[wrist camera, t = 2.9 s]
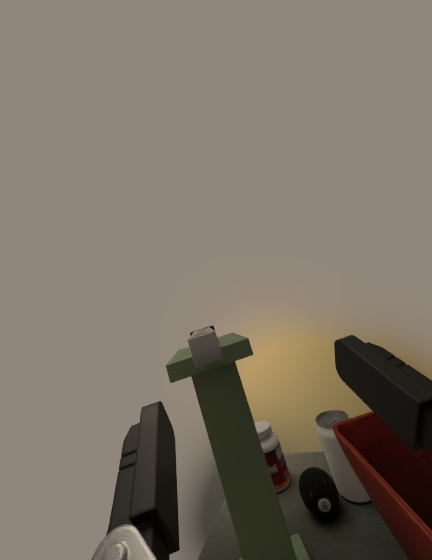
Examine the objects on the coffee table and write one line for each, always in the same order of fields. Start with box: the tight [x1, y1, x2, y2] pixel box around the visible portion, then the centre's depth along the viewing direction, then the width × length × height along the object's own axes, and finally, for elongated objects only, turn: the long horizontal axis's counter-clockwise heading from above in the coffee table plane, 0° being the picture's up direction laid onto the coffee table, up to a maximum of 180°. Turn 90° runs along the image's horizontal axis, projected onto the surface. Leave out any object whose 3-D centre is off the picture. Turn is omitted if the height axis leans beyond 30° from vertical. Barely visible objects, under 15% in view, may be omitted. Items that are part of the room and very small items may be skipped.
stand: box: [166, 333, 310, 560], centre depth 31 cm, size 14×10×32 cm
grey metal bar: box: [188, 326, 223, 368], centre depth 28 cm, size 18×4×2 cm, turn 3°
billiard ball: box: [299, 467, 339, 517], centre depth 39 cm, size 6×6×6 cm
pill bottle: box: [254, 421, 290, 493], centre depth 48 cm, size 6×6×11 cm
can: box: [316, 410, 371, 503], centre depth 41 cm, size 6×6×12 cm
